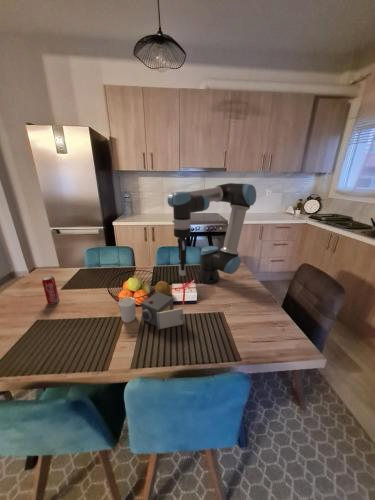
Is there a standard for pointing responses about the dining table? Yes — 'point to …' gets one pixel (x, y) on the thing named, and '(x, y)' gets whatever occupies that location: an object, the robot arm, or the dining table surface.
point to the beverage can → (50, 289)
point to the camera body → (156, 307)
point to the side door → (169, 318)
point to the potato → (162, 288)
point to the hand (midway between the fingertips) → (182, 274)
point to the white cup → (127, 309)
